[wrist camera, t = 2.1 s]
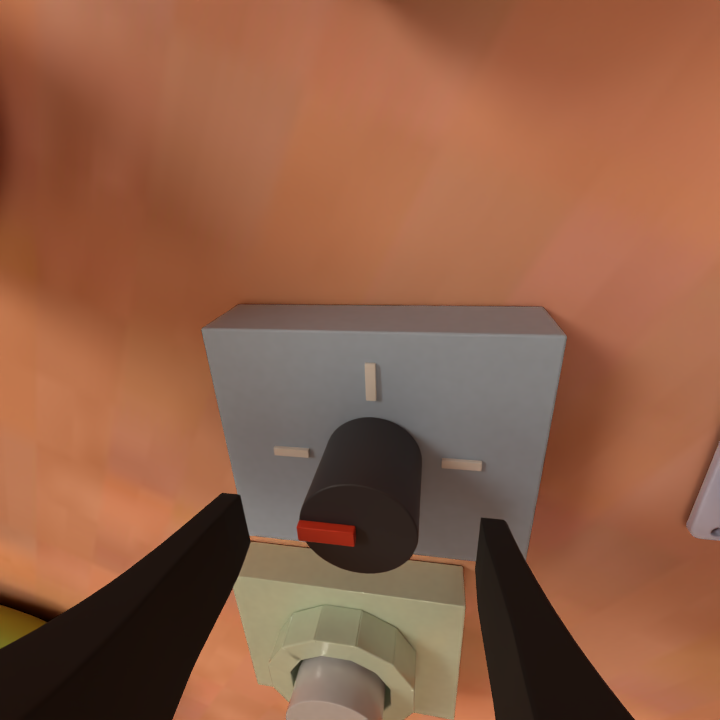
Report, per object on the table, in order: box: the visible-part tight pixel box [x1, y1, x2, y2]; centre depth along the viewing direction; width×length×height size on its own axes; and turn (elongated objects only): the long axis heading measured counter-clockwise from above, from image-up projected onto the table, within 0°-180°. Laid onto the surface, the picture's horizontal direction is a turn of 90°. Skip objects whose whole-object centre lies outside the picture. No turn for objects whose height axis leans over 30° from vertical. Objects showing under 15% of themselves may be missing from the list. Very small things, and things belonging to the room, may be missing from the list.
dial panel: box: [201, 304, 567, 561], centre depth 16 cm, size 12×10×3 cm
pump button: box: [286, 656, 386, 720], centre depth 20 cm, size 5×5×2 cm
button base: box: [233, 541, 466, 720], centre depth 22 cm, size 12×10×4 cm
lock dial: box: [296, 417, 422, 574], centre depth 13 cm, size 4×4×4 cm
